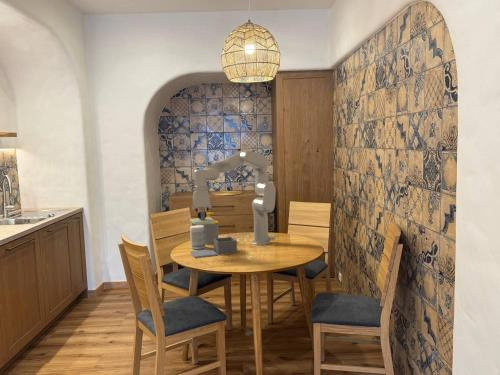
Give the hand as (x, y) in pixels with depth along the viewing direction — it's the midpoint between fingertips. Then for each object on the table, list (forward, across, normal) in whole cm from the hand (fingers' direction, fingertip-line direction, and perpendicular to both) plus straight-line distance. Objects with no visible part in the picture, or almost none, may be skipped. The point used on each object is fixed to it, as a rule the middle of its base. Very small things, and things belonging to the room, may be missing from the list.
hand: (202, 218), depth 263 cm
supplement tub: (+23, 0, -18) cm, 29 cm away
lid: (+2, 0, 0) cm, 2 cm away
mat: (+23, 0, 0) cm, 23 cm away
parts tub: (+23, -14, 0) cm, 27 cm away
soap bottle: (+23, -11, -30) cm, 40 cm away
